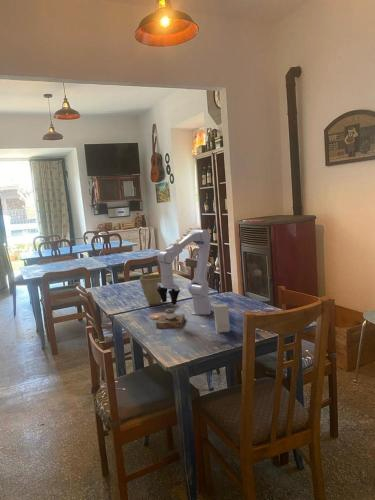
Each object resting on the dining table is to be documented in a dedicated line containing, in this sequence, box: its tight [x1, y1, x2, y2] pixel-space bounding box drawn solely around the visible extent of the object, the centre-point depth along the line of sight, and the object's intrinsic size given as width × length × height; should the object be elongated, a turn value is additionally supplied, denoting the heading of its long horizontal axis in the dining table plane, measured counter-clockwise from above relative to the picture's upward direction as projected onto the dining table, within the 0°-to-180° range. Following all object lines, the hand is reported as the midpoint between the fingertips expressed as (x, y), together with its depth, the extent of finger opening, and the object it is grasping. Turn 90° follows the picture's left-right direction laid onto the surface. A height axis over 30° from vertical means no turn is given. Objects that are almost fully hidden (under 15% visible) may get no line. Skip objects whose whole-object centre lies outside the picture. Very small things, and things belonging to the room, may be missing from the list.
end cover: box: [164, 307, 176, 320], centre depth 187 cm, size 5×5×7 cm
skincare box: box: [213, 303, 231, 334], centre depth 171 cm, size 6×4×12 cm
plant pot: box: [139, 273, 162, 305], centre depth 226 cm, size 15×15×16 cm
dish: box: [149, 312, 166, 321], centre depth 199 cm, size 9×9×1 cm
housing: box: [155, 313, 186, 329], centre depth 187 cm, size 12×12×2 cm
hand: (169, 303), depth 186 cm, fingers open, 7 cm apart
